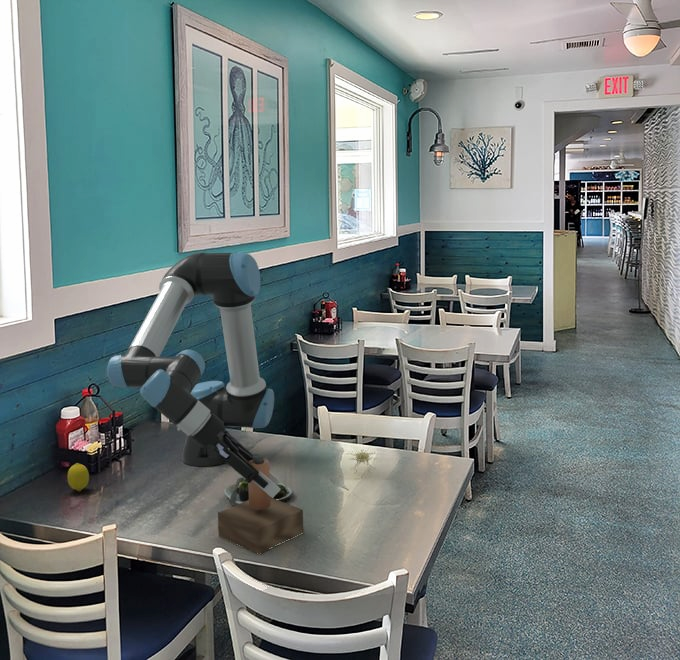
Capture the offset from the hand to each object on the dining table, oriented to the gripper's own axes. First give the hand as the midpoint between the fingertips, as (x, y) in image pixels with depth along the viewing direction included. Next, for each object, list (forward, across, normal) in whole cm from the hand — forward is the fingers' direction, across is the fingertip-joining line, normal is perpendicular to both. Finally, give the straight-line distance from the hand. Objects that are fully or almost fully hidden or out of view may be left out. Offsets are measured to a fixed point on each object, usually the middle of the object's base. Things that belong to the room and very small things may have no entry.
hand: (275, 488), depth 177 cm
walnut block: (+5, 0, -11) cm, 12 cm away
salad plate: (+6, -23, -11) cm, 27 cm away
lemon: (-28, -35, -45) cm, 64 cm away
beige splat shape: (+27, -36, +10) cm, 47 cm away
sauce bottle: (0, 0, -5) cm, 5 cm away
